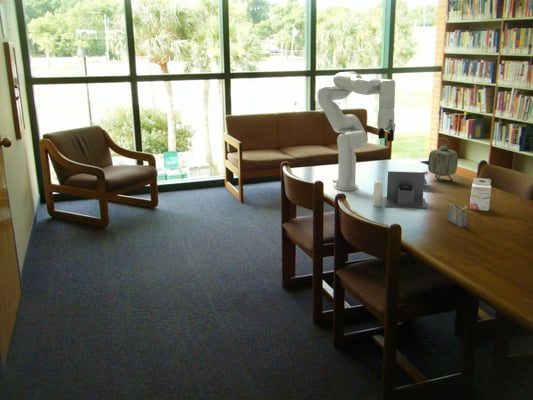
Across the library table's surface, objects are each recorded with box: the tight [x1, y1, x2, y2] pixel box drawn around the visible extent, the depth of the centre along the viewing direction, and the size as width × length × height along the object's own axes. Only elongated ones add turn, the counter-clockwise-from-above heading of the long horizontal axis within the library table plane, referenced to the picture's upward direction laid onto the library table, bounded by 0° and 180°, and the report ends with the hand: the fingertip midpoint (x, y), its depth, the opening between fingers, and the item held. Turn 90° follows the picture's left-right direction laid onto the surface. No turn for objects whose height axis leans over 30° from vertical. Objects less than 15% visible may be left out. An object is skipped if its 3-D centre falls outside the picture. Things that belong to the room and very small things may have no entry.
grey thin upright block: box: [446, 203, 469, 228], centre depth 240 cm, size 11×3×10 cm, turn 13°
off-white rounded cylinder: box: [372, 180, 383, 208], centre depth 266 cm, size 4×4×12 cm
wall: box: [423, 170, 433, 186], centre depth 301 cm, size 16×9×15 cm
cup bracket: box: [383, 170, 428, 210], centre depth 268 cm, size 15×20×15 cm
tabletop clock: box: [427, 137, 459, 182], centre depth 310 cm, size 14×9×25 cm, turn 34°
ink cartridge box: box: [469, 177, 492, 212], centre depth 258 cm, size 9×5×15 cm, turn 71°
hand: (385, 139), depth 268 cm, fingers open, 9 cm apart
